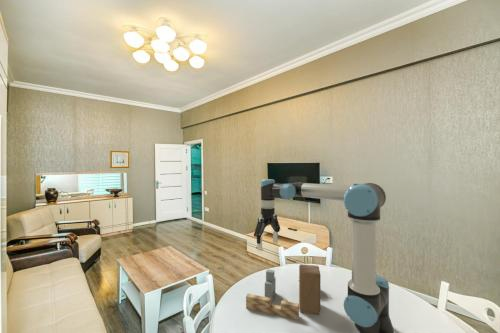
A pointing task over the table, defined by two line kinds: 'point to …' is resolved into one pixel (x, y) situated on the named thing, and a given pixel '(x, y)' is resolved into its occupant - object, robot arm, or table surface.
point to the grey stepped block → (270, 284)
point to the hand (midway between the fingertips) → (267, 246)
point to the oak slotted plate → (272, 306)
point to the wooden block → (309, 289)
